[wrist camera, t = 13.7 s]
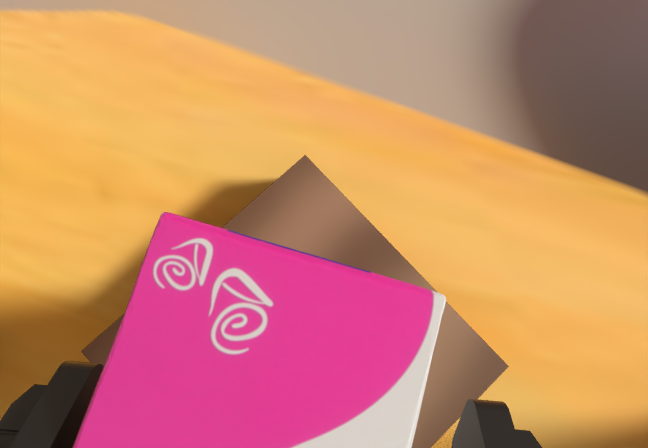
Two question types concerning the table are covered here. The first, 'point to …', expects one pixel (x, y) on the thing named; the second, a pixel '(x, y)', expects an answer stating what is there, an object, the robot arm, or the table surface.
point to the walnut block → (371, 255)
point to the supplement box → (261, 350)
